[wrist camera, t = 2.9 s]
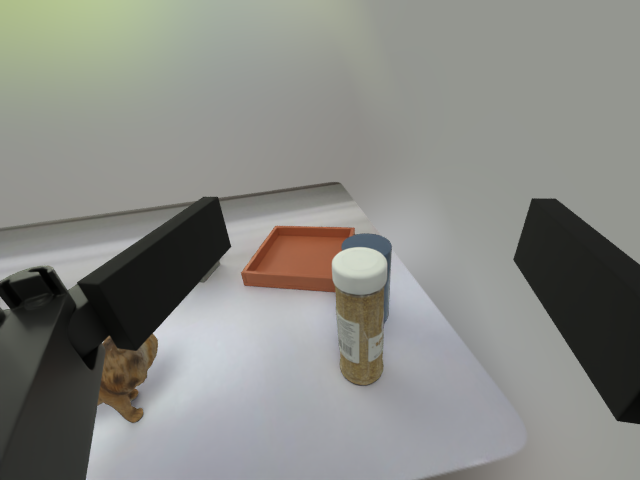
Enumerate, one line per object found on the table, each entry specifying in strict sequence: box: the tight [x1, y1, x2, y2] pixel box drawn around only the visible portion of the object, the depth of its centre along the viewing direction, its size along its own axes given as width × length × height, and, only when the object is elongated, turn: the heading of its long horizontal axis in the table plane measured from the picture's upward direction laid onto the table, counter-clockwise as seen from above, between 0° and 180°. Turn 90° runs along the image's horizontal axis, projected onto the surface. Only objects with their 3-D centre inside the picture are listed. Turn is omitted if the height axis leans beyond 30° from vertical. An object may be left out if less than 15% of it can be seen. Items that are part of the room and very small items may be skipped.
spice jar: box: [332, 247, 387, 385], centre depth 27 cm, size 5×5×13 cm
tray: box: [241, 226, 355, 292], centre depth 48 cm, size 15×15×2 cm
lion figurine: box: [97, 333, 158, 423], centre depth 25 cm, size 15×5×9 cm, turn 124°
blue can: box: [341, 234, 392, 322], centre depth 34 cm, size 6×6×10 cm
